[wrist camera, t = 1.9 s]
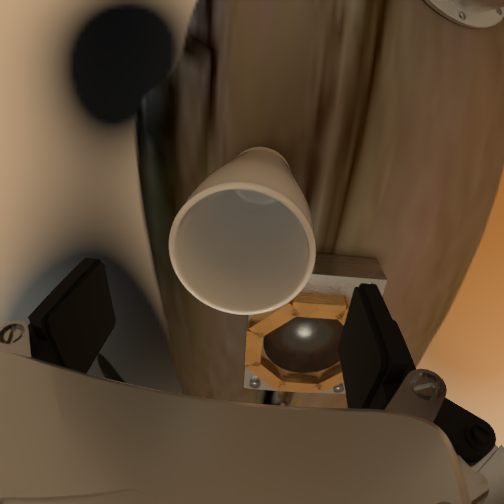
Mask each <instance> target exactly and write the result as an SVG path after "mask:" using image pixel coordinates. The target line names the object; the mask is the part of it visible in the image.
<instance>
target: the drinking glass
mask: <svg viewBox="0 0 504 504" xmlns="http://www.w3.org/2000/svg"><path fill="white" fill-rule="evenodd" d="M169 254H170V259H171V263H172V266H173V268H174V271H175V273H176V275H177V276H178V278H179V280H180V281H181V283H182V284H183V285H184V287H185V288H186V289H187V290H188V291H189V292H190V293H191V294H192V295H193V296H195V297H196V298H197V299H198V300H200V301H201V302H203V303H205V304H206V305H208V306H210V307H212V308H215V309H217V310H220V311H223V312H227V313H232V314H239V315H253V314H261V313H265V312H269V311H272V310H275V309H277V308H279V307H281V306H283V305H285V304H287V303H288V302H289V301H291V300H292V299H293V298H295V297H296V296H297V295H298V294H299V293H300V292H301V291H302V289H303V288H304V287H305V285H306V284H307V282H308V281H309V278H310V276H311V274H312V271H313V269H314V264H315V258H316V245H315V236H314V227H313V222H312V217H311V213H310V209H309V206H308V204H307V201H306V198H305V196H304V194H303V192H302V190H301V188H300V186H299V185H298V183H297V181H296V180H295V178H294V176H293V174H292V173H291V170H290V167H289V164H288V163H287V161H286V160H285V158H284V157H283V156H282V155H281V154H280V153H278V152H277V151H275V150H273V149H270V148H267V147H253V148H249V149H247V150H245V151H243V152H241V153H240V154H239V155H238V156H237V157H236V158H235V159H233V160H231V161H230V162H228V163H226V164H225V165H223V166H222V167H220V168H218V169H217V170H215V171H214V172H213V173H211V174H210V175H209V176H208V177H207V178H205V179H204V180H203V181H202V182H201V183H200V184H199V185H198V187H197V188H196V189H195V190H194V191H193V193H192V194H191V195H190V196H189V198H188V199H187V200H186V202H185V203H184V205H183V206H182V208H181V209H180V211H179V212H178V214H177V216H176V217H175V220H174V222H173V224H172V227H171V231H170V236H169Z"/></svg>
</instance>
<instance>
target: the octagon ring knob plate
mask: <svg viewBox="0 0 504 504" xmlns="http://www.w3.org/2000/svg"><path fill="white" fill-rule="evenodd" d="M361 283H367V284H376V285H377V286H378V289H379V291H380V293H381V295H383V292H384V289H385V286H386V283H387V278H386V276H385V274H384V272H383V271H382V269H381V267H380V265H379V263H378V261H377V259H375V258H365V257H354V256H343V255H333V254H322V253H316V258H315V264H314V269H313V271H312V274H311V276H310V278H309V281H308V282H307V284H306V285H305V287H304V288H303V289H302V291H301V292H300V293H299V294H298V295H297V296H296V297H295V298H293V299H292V300H291V301H289V302H288V303H287V304H285V305H283V306H281V307H279V308H277V309H275V310H272V311H269V312H265V313H261V314H253V315H249V320H248V327H247V338H246V353H245V379H244V388H251V389H262V390H274V391H288V392H307V393H346V392H345V386H344V380H343V375H342V369H341V363H340V358H339V353H338V345H339V341H340V337H341V334H342V331H343V327H344V324H345V320H346V317H347V313H348V309H349V306H350V302H351V298H352V295H353V291H354V288H355V287H359V285H360V284H361Z"/></svg>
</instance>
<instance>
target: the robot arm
mask: <svg viewBox="0 0 504 504" xmlns="http://www.w3.org/2000/svg"><path fill="white" fill-rule="evenodd" d="M424 1H425V2H426V3H427V4H428V5H429V6H430V7H432V8H433V9H434V10H435V11H437V12H438V13H439V14H441V15H442V16H444V17H446V18H447V19H449V20H450V21H453V22H455V23H457V24H459V25H462V26H465V27H469V28H477V29H481V28H487V27H491V26H494V25H496V24H497V23H499V22H500V21H501V20H502V19H503V18H504V0H424ZM28 318H29V320H30V324H29V325H27V324H26V323H25V322H22V321H11V322H9V323H6V324H5V325H3V326H2V327H1V328H0V504H504V448H503V446H502V445H501V446H500V447H499V448H498V447H497V446H496V445H495V441H496V437H495V433H494V430H493V428H492V427H491V426H490V425H489V424H488V423H487V422H485V421H484V420H482V419H480V418H479V417H477V416H475V415H474V414H472V413H470V412H468V411H467V410H465V409H463V408H462V407H460V406H458V405H457V404H455V403H453V402H452V401H450V400H448V399H447V398H445V396H446V391H447V390H446V385H445V383H444V381H443V380H442V379H441V378H440V376H439V375H437V374H436V373H434V372H432V371H429V370H426V369H416V368H415V365H414V363H413V360H412V358H411V355H410V353H409V350H408V348H407V345H406V343H405V341H404V338H403V336H402V334H401V331H400V329H399V327H398V324H397V323H396V321H394V320H392V318H391V315H390V313H389V311H388V308H387V306H386V304H385V302H384V300H383V297H382V295H381V293H380V291H379V289H378V286H377V285H376V284H367V283H361V284H360V285H359V287H355V288H354V291H353V295H352V298H351V302H350V306H349V309H348V313H347V317H346V320H345V324H344V327H343V331H342V334H341V337H340V341H339V345H338V353H339V358H340V363H341V369H342V375H343V380H344V386H345V392H346V398H347V404H348V408H314V407H294V406H277V405H263V404H252V403H242V402H233V401H224V400H216V399H209V398H202V397H195V396H189V395H182V394H176V393H171V392H165V391H159V390H154V389H150V388H144V387H140V386H135V385H130V384H126V383H122V382H117V381H113V380H109V379H105V378H101V377H97V376H93V375H90V374H87V372H88V370H89V368H90V367H91V365H92V363H93V361H94V360H95V358H96V356H97V355H98V353H99V351H100V349H101V348H102V346H103V345H104V343H105V341H106V340H107V338H108V336H109V335H110V333H111V332H112V330H113V328H114V326H115V322H116V319H115V314H114V310H113V305H112V301H111V296H110V291H109V286H108V281H107V275H106V270H105V265H104V264H103V263H101V261H100V260H99V259H95V258H85V259H84V260H82V261H81V263H79V264H78V265H77V266H76V267H75V268H74V269H73V270H72V271H71V272H70V274H68V275H67V276H66V277H65V278H64V279H63V280H62V281H61V282H60V284H59V285H58V286H57V287H56V288H55V289H54V290H53V291H52V292H51V293H50V294H49V295H48V296H47V297H46V298H45V299H44V300H43V301H42V303H41V304H40V305H39V306H38V307H37V308H36V309H35V310H34V311H33V312H32V313H31V315H30V316H29V317H28Z"/></svg>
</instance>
